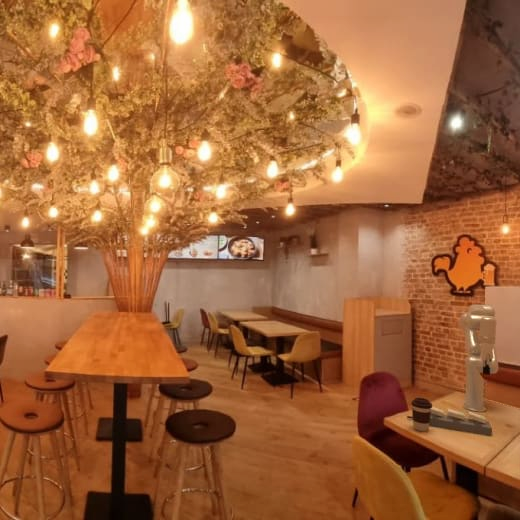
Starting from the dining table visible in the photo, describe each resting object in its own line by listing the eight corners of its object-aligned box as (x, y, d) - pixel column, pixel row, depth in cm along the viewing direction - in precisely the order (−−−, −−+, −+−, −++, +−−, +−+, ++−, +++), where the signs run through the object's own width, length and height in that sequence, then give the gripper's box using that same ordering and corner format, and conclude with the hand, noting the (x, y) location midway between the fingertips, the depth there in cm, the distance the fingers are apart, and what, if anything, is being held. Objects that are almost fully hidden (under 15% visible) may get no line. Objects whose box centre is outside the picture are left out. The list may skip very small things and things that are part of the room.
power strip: (407, 416, 229) (407, 407, 229) (488, 429, 215) (488, 420, 215) (406, 422, 220) (407, 413, 220) (491, 436, 205) (492, 426, 205)
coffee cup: (427, 426, 215) (428, 397, 216) (433, 433, 205) (435, 403, 206) (408, 424, 216) (409, 395, 217) (413, 431, 206) (414, 401, 207)
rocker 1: (426, 408, 225) (427, 404, 225) (442, 414, 222) (443, 410, 222) (426, 411, 221) (428, 407, 220) (442, 417, 218) (443, 413, 218)
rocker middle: (446, 412, 222) (447, 408, 221) (463, 416, 219) (463, 412, 219) (447, 415, 217) (448, 410, 217) (464, 419, 214) (464, 415, 214)
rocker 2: (467, 414, 218) (468, 410, 218) (484, 420, 215) (485, 416, 215) (468, 417, 213) (469, 413, 213) (485, 423, 210) (486, 419, 210)
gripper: (477, 337, 231) (476, 370, 230) (481, 341, 217) (480, 376, 216) (492, 338, 228) (491, 372, 228) (497, 342, 214) (496, 378, 214)
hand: (486, 374), depth 222 cm, fingers closed
